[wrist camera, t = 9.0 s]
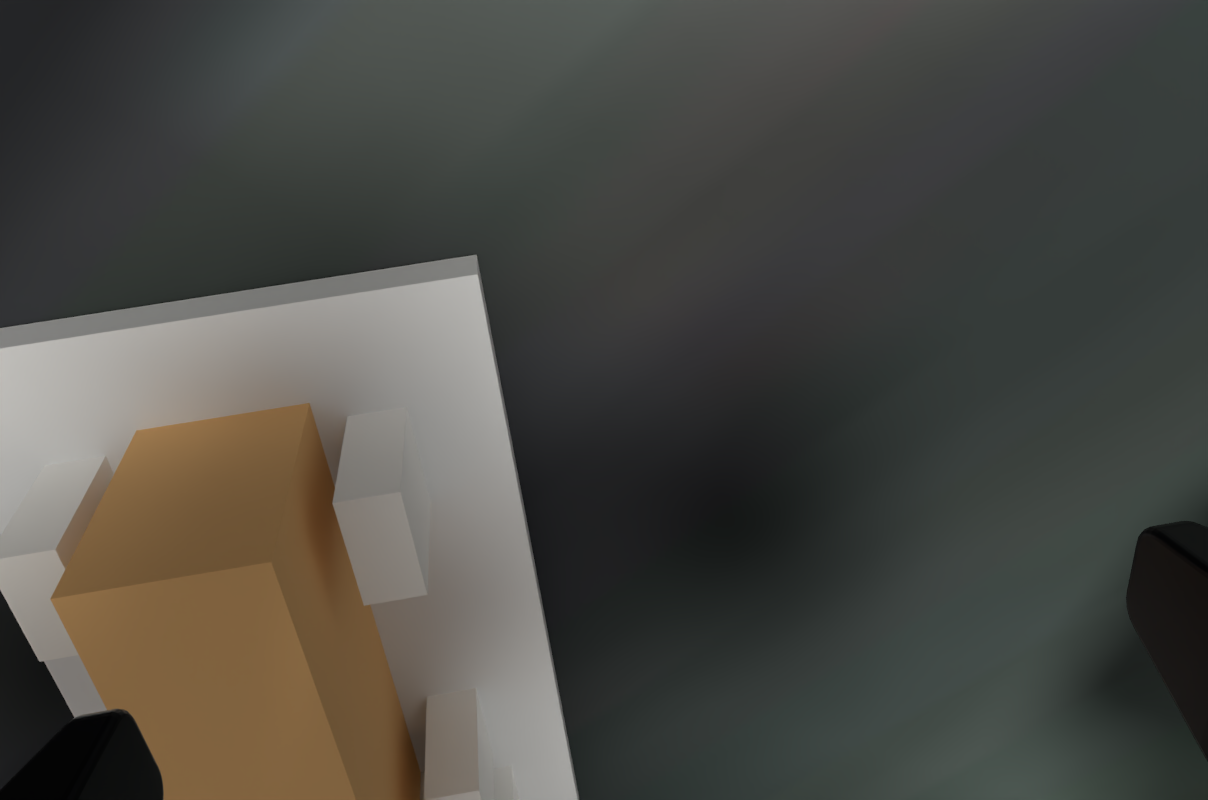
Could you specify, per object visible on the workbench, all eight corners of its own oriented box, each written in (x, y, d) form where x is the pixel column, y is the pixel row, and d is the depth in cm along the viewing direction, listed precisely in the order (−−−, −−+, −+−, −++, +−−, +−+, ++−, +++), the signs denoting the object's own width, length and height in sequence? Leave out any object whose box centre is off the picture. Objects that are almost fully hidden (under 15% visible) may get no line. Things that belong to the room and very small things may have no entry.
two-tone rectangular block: (335, 398, 20) (303, 556, 16) (471, 879, 28) (475, 1071, 24) (110, 434, 20) (17, 604, 16) (313, 909, 28) (288, 1109, 24)
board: (476, 254, 20) (481, 344, 17) (593, 875, 30) (611, 1010, 27) (-92, 342, 20) (-207, 454, 16) (222, 945, 30) (193, 1093, 26)
